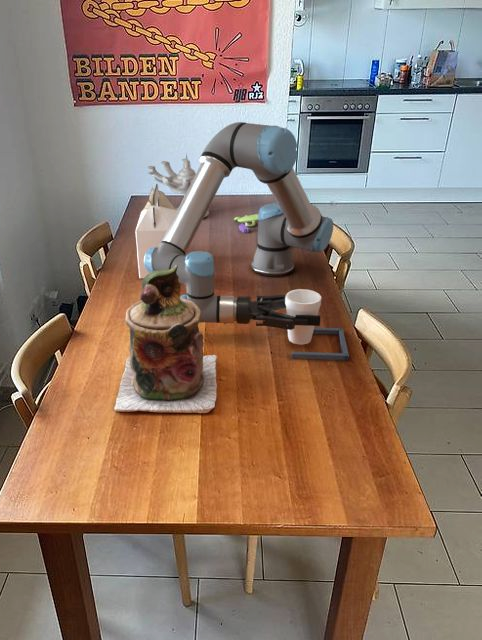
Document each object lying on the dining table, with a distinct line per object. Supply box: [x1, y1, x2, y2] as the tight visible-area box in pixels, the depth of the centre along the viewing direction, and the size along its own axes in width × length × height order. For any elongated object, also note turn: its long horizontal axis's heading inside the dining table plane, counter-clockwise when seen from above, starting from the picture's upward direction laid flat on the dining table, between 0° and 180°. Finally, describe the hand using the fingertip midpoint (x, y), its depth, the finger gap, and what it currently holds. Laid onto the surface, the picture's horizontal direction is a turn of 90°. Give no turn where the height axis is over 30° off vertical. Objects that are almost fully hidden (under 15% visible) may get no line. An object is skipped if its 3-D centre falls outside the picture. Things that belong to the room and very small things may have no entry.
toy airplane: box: [233, 213, 259, 234], centre depth 246 cm, size 18×27×6 cm
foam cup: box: [285, 288, 322, 346], centre depth 159 cm, size 10×9×13 cm
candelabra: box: [147, 152, 210, 218], centre depth 255 cm, size 34×35×27 cm
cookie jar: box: [114, 265, 218, 414], centre depth 138 cm, size 25×25×32 cm
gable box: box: [135, 183, 177, 280], centre depth 205 cm, size 22×13×28 cm, turn 179°
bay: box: [290, 327, 350, 361], centre depth 162 cm, size 15×15×2 cm
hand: (318, 312), depth 157 cm, fingers closed on foam cup, 9 cm apart
